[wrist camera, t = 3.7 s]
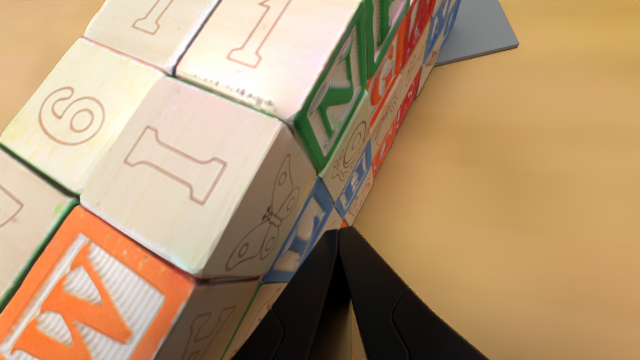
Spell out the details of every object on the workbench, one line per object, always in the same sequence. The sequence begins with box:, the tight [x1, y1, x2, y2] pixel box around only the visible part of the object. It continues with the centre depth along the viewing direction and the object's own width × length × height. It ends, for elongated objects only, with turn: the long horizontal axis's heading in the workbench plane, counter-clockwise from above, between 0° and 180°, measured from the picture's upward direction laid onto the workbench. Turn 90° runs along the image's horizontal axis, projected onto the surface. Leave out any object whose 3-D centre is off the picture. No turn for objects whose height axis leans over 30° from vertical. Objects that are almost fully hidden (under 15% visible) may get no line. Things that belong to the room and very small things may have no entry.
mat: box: [433, 0, 519, 67], centre depth 22 cm, size 14×24×1 cm, turn 98°
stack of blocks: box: [0, 0, 461, 360], centre depth 13 cm, size 21×6×12 cm, turn 151°
